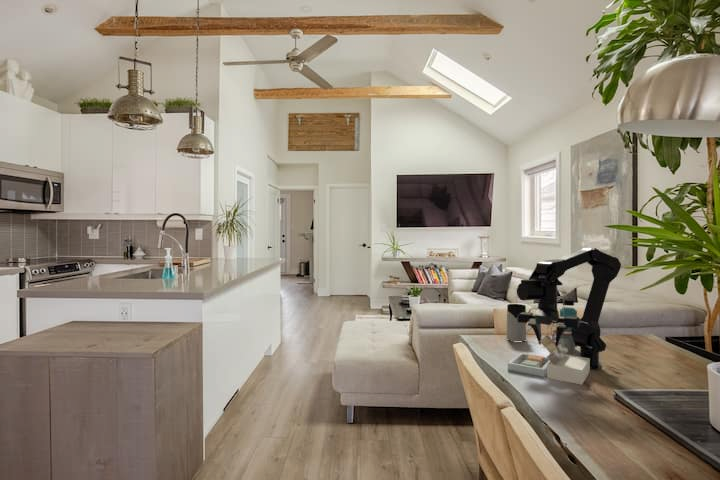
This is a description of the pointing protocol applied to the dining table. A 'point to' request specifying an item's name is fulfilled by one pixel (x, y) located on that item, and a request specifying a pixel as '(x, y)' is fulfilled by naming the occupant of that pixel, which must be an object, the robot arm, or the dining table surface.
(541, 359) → the terracotta tile
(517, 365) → the box
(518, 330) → the glass holder
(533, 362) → the sage tile
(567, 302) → the beverage bottle
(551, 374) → the cream riser block
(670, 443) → the dining table surface
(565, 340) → the french press
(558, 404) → the dining table surface
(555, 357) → the scraper
